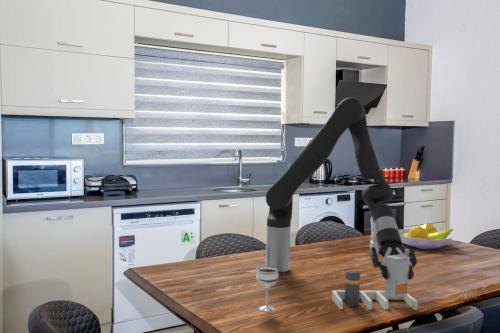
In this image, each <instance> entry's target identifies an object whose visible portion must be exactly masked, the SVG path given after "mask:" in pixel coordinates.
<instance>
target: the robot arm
mask: <svg viewBox="0 0 500 333" xmlns="http://www.w3.org/2000/svg"><path fill="white" fill-rule="evenodd" d="M347 130H349V133H350V135H351V139H352V143H353V148H354V155H355V161H356V163H357V164H356V165H357V167H358V170H359V174H360V177H361V179H362V180H375V181H377V182H378V183H376V184H372V185H368V186H366V187H363V189H362V191H361V198H362V201H363V202H364V203H365V205H366V206H367V208H368V210H369V211H370V214H371V217H372V218H373V222H374V230H375V235H376V238H377V242H378V247H379V249H375V247H372V249H370V251H369V254H370V257H371V261H372V266H373V267H374V268H379V269H380V274H381V277H382V278H383V279H384V280H385V279H388V277H389V276H388V271H387V267H386V256H391V255H399V254H400V255H404V256H407V257H410V260H409V278H408V281H410V280H413V277H414V276H415V273H414V270H413V268H415V267H416V265H417V263H418V261H417V257H416V253H415V249H414V247H412V246H410V248H405V247H404V246H403V243H402V241H401V238H400V234H399V230H400V229H399V227H398V224H397V222H396V220H395V215H394V213H393V208H392V207H391V205H389V204H387V203H388V202H390V201H392V200H393V197H394V193H393V192H394V191H393V190H392V188H391V185H390V184H389V183H388V182H387V180H386V179H385V177H384V175H383V173H382V171H381V168H380V165H379V162H378V158H377V156H376V152H375V150H374V147H373V143H372V140H371V137H370V133H369V129H368V123H367V114H366V108H365V106H364V104H363V103H362V101H360V100H359V99H357V98H355V97H347V98H344V99H342V100H341V101H340V102H339V103H338V104H337V106H336V108H335V109H334V110H333V112H332V114H331V115H330V117H329V118H328V120H327V121H326V123H324V125H323V126H322V127H321V128H320V129H319V130H318V131H317V132H316V134H315V135H314V136H313V137H312V138H311V140H310V141H309V142H308V143H307V144H306V145H305V146H304V147H303V149H302V150H300V152H299V154H298V155H297V156H296V158H295V159H294V160H293V161H292V163H291V165H290V166H289V167H288V169H287V170H286V171H285V173H284V174H283V175H282V176H281V177H280V178H279V179H278V180H277V181H276V182H275V183H274V184H273V185H272V186H271V187H270V188H268V190H267V191H266V193H265V194H266V195H265V202H266V205H267V206H268V207H269V208H268V215H267V218H266V239H265V240H266V241H265V242H266V243H265V260H264V261H265V262H264V264H265V265H264V266H272V267H276V268H278V269H279V270H278V272H277V273H286V272H288V271H290V257H291V256H290V254H291V229H292V228H291V223H292V216H293V204H294V202H293V200H294V199H293V197H294V194H295V193H296V191H297V190H299V187H300V186H301V185H302V184H304V182H306V181H307V180H308V179H309V178H310V177H312V176H313V174H314V173H316V172H317V171H318V170H319V169H320V168H321V166H322V165H323V164H324V163H325V162H326V161H327V159H329V157H330V155H331V154H332V152H333V150H334V148H335V146H336V145H337V142H338V140H339V139H340V138H341V136H342V135H343V133H345V132H346V131H347ZM378 254H380V256H381V257H383V258H382V260H381V261H379V256H378Z"/></svg>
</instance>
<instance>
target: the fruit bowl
mask: <svg viewBox="0 0 500 333" xmlns="http://www.w3.org/2000/svg"><path fill="white" fill-rule="evenodd" d="M398 230H399V234H400V238H401V241H402V244H405V245H406V246H409V247H412V248H416V249H420V250H421V249H422V250H425V249H427V250H429V249H438V248H441V247H443V246H447V245H449V243H450V242H451V240H452V238H453V236H452V235H451V232H453V231H454V229H453V228H450V229H449V230H440V231H438V230H437V227H436V226H435V225H433V223H432V222H431V223H430V222H427V223H424V224H423V225H420V226H417V225H416V226H414V227H412V228H410V229H409V228H404V229H402V228H401V229H398Z"/></svg>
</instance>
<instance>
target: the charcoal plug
mask: <svg viewBox="0 0 500 333" xmlns="http://www.w3.org/2000/svg"><path fill="white" fill-rule="evenodd" d="M360 284H361V272H360V271H356V270H346V271H345V276H344V290H345V299H344V301H343V304H344V303H345V304H344V305H345V306H347V305H348V306H347V307H351V306H353V307H354V306H356V307H359V306H358V305H360V299H359V291H360V286H361V285H360Z"/></svg>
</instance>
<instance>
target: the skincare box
mask: <svg viewBox="0 0 500 333" xmlns="http://www.w3.org/2000/svg"><path fill="white" fill-rule="evenodd" d="M404 255H405V254H404ZM404 255H400V254H399V255H391V256H386V264H385V266H386V267H387V271H388V276H389V277H388V279H384V291H385V293H386V294H388V295H390V296H393V297H396V296H401V295H407V294H409V293H408V292H409V279H408V278H409V261H410V257H409V256H407V255H405V256H404Z"/></svg>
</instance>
